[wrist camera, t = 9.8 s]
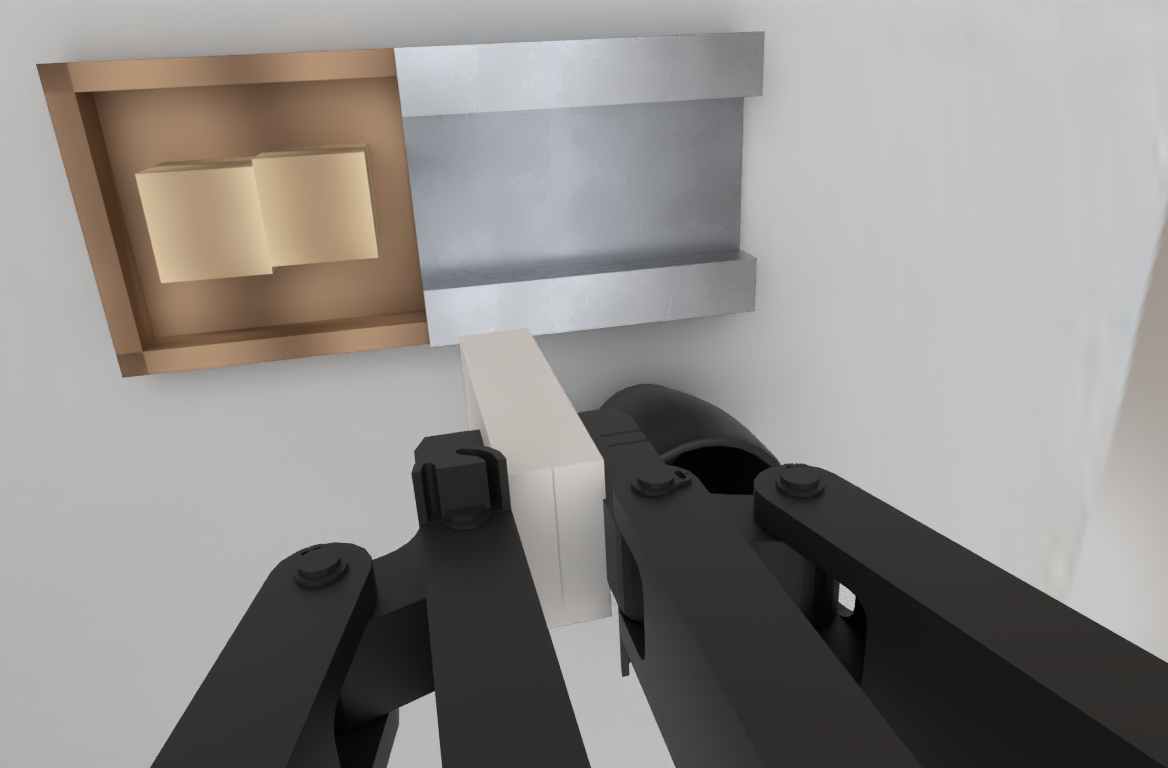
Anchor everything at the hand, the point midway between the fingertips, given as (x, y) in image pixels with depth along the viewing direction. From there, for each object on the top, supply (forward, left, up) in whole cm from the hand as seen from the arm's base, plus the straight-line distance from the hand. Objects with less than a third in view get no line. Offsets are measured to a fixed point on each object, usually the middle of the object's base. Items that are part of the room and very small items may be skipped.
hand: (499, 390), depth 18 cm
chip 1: (-9, +2, -20) cm, 22 cm away
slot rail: (+6, +1, -21) cm, 22 cm away
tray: (-8, +1, -21) cm, 22 cm away
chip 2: (-5, +2, -20) cm, 21 cm away
